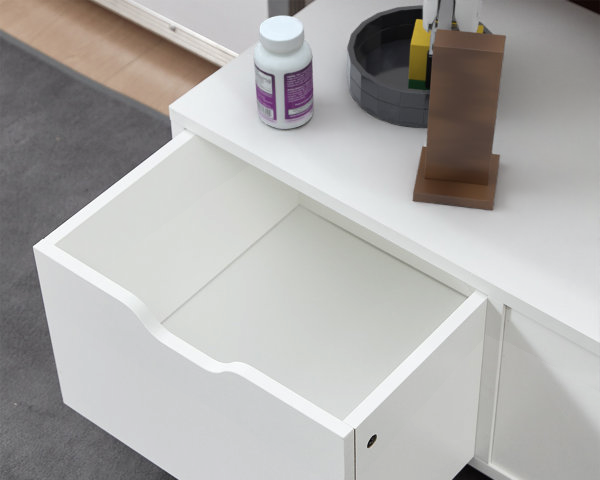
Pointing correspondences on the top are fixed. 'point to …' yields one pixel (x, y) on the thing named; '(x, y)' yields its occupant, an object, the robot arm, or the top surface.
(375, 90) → the pan
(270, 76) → the pill bottle
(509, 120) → the top surface
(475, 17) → the robot arm
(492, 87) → the brown upright plaque stand
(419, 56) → the sponge
